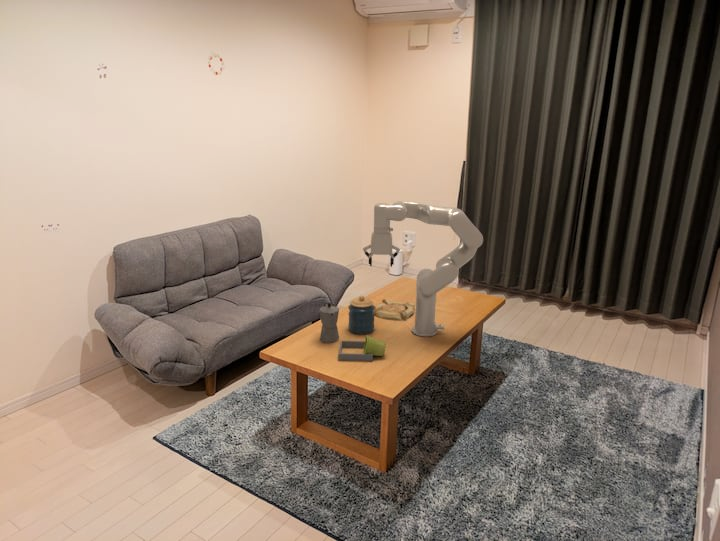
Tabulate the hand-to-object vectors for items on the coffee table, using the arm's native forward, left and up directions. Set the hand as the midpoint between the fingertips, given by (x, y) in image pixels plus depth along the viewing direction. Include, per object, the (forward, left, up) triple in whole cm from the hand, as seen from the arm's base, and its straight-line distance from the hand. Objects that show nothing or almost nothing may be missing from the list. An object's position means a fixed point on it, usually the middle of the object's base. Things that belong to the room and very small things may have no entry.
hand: (381, 265), depth 243 cm
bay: (+10, +26, -33) cm, 43 cm away
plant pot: (-2, +27, -30) cm, 41 cm away
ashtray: (-8, -25, -34) cm, 43 cm away
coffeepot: (+24, +10, -34) cm, 42 cm away
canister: (+9, -1, -34) cm, 35 cm away
